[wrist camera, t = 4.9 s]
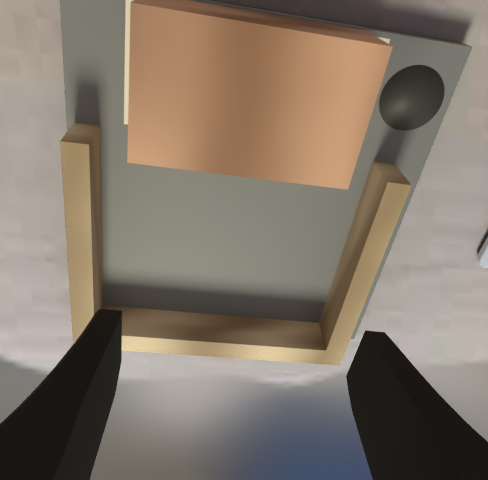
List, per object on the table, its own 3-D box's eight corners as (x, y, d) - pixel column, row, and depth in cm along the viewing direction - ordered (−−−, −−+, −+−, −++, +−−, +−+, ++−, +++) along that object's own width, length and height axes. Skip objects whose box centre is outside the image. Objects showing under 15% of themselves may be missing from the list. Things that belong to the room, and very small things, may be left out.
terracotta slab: (366, 30, 17) (392, 46, 14) (330, 157, 19) (347, 189, 17) (144, -8, 16) (130, 2, 13) (139, 132, 18) (127, 162, 16)
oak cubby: (394, 164, 20) (411, 185, 18) (331, 337, 25) (339, 365, 24) (74, 122, 18) (60, 141, 16) (83, 318, 24) (73, 346, 22)
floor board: (464, 43, 18) (472, 47, 17) (351, 331, 26) (353, 339, 25) (63, -25, 16) (58, -24, 15) (80, 309, 24) (77, 317, 23)
